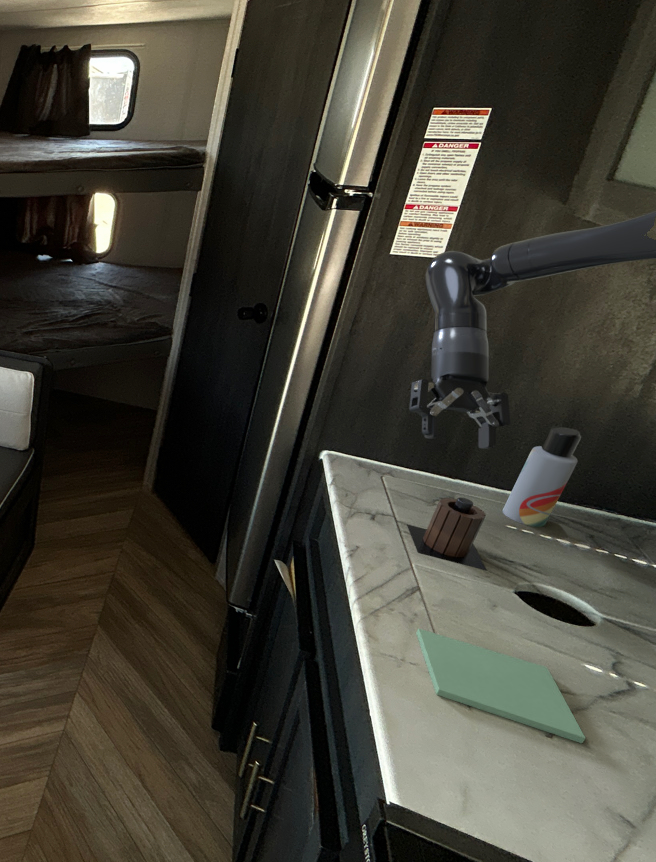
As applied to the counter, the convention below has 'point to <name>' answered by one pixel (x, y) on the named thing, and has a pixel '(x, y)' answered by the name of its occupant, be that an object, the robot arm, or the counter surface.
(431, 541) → the brown grooved hollow cylinder
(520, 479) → the lotion bottle
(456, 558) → the peg stand
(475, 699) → the mat
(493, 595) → the counter surface
